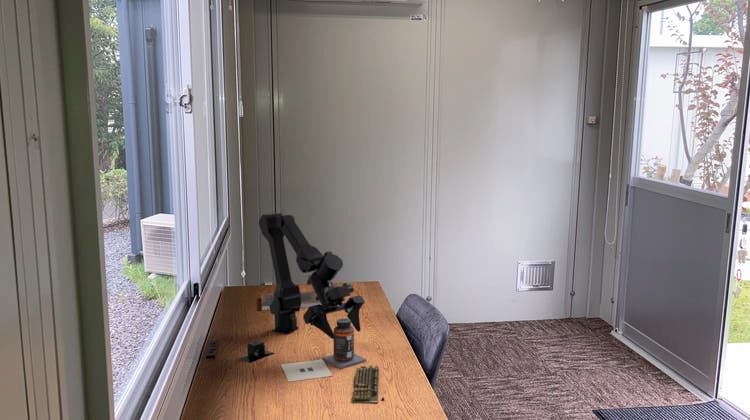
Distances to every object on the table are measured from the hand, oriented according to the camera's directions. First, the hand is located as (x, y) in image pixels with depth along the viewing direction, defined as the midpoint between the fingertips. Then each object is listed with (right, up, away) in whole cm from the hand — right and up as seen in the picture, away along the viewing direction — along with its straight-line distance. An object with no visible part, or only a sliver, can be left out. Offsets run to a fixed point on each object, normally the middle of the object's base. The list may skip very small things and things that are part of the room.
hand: (346, 334), depth 174 cm
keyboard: (+7, -11, -14) cm, 19 cm away
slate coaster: (-1, -8, +2) cm, 8 cm away
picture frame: (-24, -1, +59) cm, 64 cm away
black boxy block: (-27, -8, +6) cm, 29 cm away
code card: (-11, -9, -5) cm, 15 cm away
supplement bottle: (-1, -7, +2) cm, 8 cm away
